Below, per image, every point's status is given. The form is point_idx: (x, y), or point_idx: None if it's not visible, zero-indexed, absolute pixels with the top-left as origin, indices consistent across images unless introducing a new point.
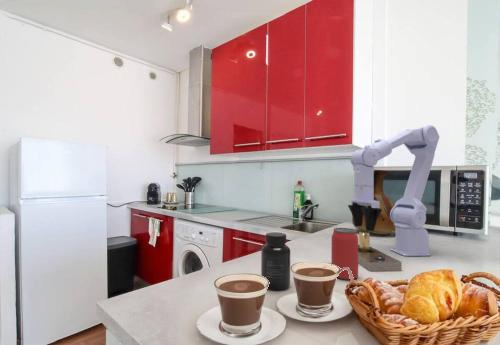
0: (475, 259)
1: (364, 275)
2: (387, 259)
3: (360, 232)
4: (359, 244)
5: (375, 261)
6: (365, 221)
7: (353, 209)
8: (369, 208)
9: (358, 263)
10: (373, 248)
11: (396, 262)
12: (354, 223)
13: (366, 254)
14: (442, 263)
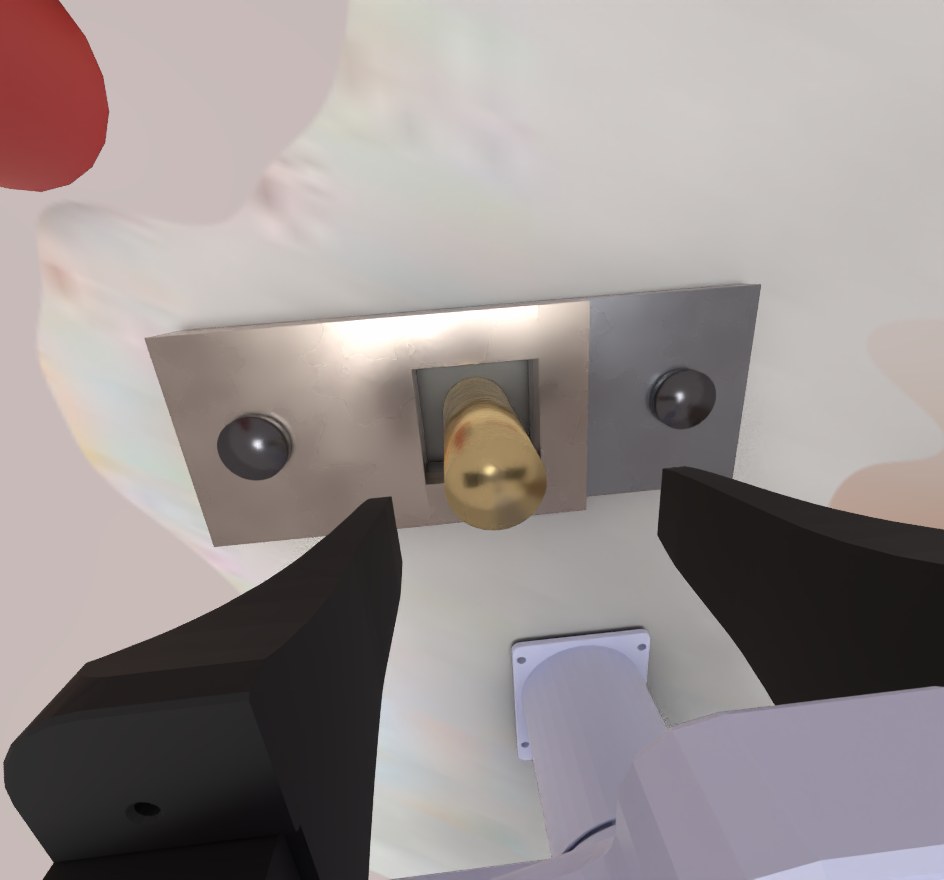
0: (470, 864)
1: (84, 256)
2: (255, 489)
3: (519, 455)
4: (485, 401)
5: (184, 389)
6: (352, 541)
7: (880, 588)
8: (28, 818)
9: (341, 317)
10: (535, 511)
11: (206, 516)
12: (699, 471)
13: (366, 397)
14: (400, 740)
